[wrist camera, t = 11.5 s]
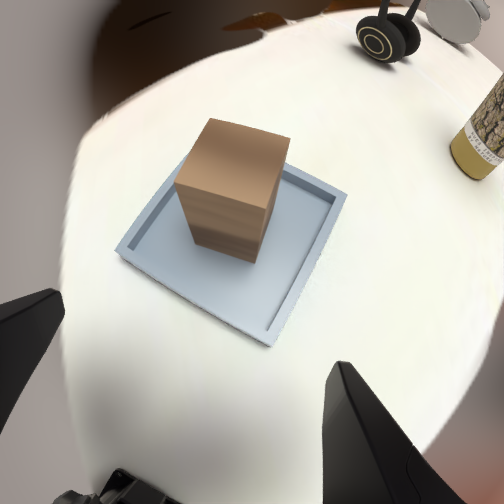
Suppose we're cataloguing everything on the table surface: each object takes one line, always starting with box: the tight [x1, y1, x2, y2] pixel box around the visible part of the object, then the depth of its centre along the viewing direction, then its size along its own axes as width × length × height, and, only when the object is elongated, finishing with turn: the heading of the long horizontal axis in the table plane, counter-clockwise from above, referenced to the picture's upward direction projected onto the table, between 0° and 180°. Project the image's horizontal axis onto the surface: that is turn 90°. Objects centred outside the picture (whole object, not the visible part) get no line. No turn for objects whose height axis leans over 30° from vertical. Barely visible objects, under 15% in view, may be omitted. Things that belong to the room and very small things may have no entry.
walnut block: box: [174, 118, 291, 264], centre depth 19 cm, size 5×5×9 cm
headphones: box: [356, 0, 421, 63], centre depth 27 cm, size 9×15×20 cm, turn 134°
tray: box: [114, 152, 347, 347], centre depth 23 cm, size 14×14×2 cm
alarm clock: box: [426, 0, 490, 46], centre depth 36 cm, size 16×9×22 cm, turn 51°
